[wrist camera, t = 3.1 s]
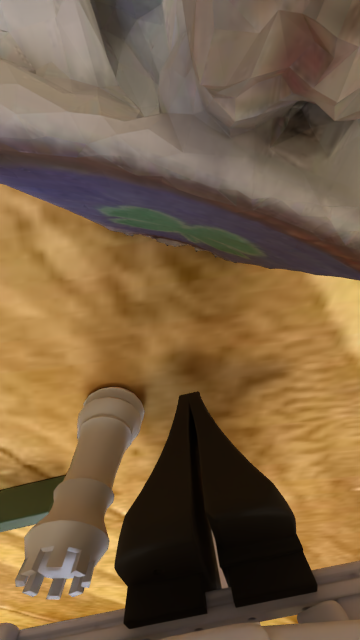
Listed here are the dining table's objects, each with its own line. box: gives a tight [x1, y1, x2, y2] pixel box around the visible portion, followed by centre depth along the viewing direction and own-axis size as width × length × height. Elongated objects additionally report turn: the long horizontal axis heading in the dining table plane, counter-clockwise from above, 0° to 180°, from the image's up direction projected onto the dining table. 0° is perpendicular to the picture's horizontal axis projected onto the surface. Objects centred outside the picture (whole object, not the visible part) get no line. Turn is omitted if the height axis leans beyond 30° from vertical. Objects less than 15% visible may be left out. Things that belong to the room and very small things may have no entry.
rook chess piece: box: [15, 387, 144, 599], centre depth 10 cm, size 4×4×8 cm
